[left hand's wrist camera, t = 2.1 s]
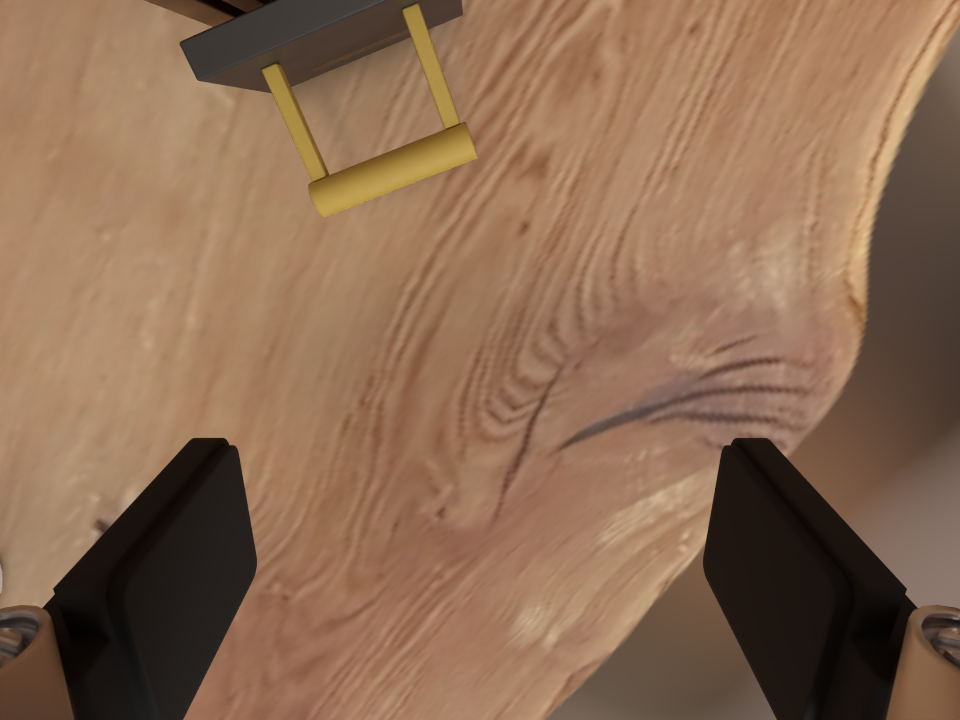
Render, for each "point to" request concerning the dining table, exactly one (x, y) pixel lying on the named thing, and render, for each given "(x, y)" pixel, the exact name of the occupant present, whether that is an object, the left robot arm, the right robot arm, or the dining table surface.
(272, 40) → the drawer
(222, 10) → the cabinet
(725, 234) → the dining table surface
